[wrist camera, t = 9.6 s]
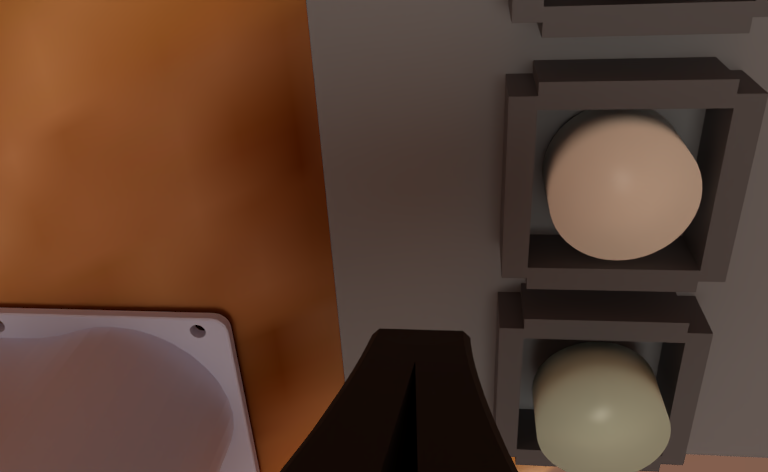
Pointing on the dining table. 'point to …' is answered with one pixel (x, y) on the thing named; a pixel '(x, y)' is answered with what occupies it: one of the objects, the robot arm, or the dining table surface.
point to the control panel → (529, 200)
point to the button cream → (620, 183)
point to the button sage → (599, 409)
